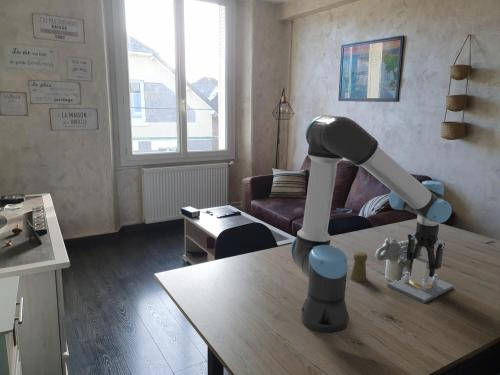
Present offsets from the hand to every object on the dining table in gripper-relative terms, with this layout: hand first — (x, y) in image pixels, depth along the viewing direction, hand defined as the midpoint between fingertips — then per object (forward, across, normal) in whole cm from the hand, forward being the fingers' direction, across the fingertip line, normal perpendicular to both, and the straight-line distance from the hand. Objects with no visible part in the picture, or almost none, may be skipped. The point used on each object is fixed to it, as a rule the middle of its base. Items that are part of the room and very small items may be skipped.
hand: (420, 280), depth 142 cm
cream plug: (+1, 0, 0) cm, 1 cm away
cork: (+3, +18, +14) cm, 23 cm away
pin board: (+3, 0, 0) cm, 3 cm away
